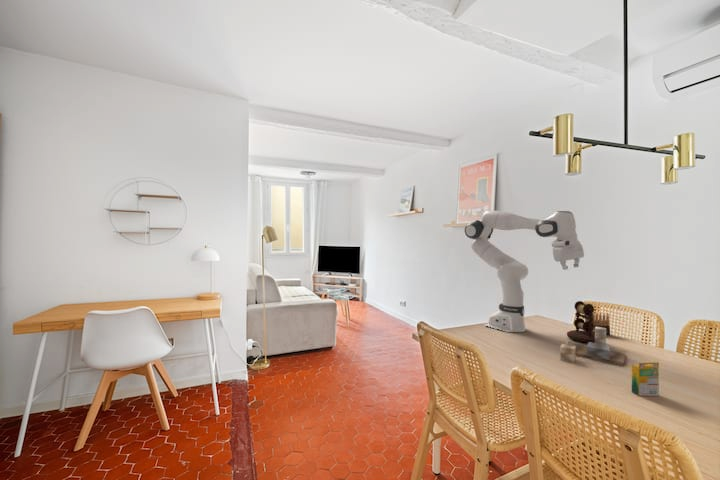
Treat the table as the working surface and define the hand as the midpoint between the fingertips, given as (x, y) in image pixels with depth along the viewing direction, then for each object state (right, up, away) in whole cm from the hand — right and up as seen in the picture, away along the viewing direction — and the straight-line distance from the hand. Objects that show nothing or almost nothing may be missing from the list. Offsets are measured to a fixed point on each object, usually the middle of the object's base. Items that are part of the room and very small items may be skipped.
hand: (570, 268), depth 161 cm
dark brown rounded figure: (+10, -39, +5) cm, 40 cm away
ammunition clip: (+25, -39, +15) cm, 48 cm away
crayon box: (-9, -39, -52) cm, 66 cm away
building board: (0, -39, -15) cm, 41 cm away
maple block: (-16, -39, -22) cm, 47 cm away
